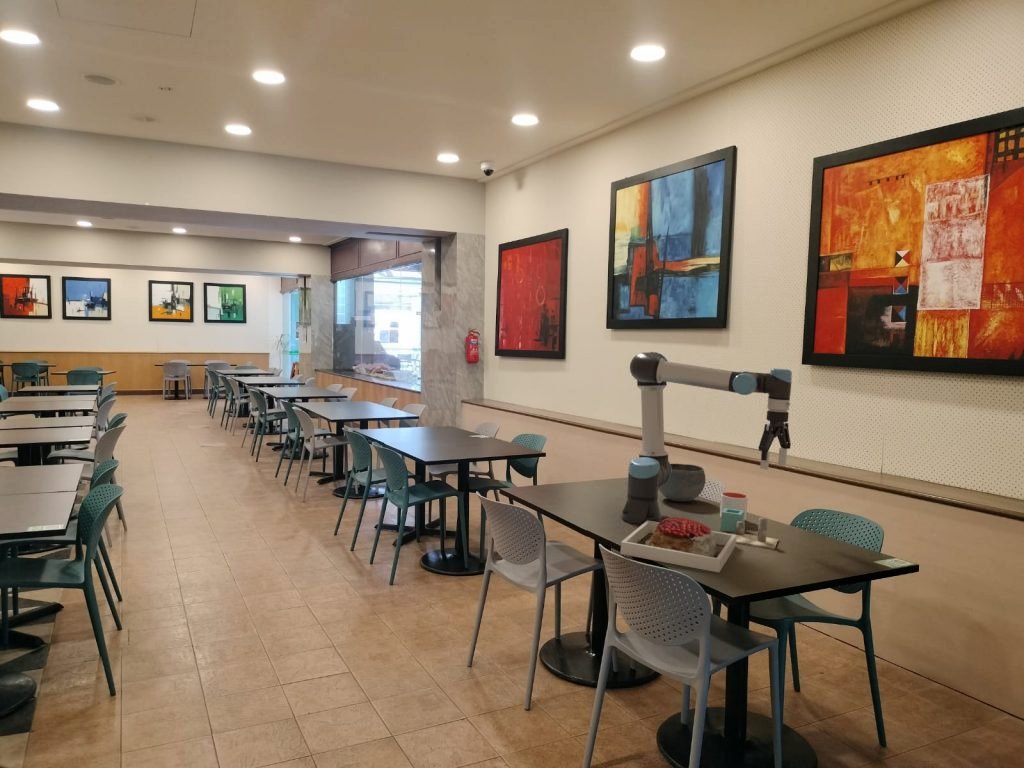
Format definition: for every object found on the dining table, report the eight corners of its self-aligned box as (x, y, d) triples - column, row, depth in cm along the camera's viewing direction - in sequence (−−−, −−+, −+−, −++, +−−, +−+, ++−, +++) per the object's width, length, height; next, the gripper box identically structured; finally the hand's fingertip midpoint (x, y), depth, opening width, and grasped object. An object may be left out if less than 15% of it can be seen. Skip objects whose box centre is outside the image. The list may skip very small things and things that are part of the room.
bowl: (709, 499, 312) (712, 466, 311) (694, 509, 294) (697, 473, 293) (664, 492, 323) (666, 459, 322) (647, 500, 306) (649, 466, 304)
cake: (633, 540, 247) (635, 512, 246) (700, 540, 250) (702, 513, 249) (653, 562, 224) (655, 531, 223) (727, 562, 227) (729, 532, 226)
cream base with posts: (726, 541, 250) (728, 517, 249) (732, 533, 260) (733, 510, 260) (774, 549, 243) (776, 525, 242) (778, 540, 253) (780, 517, 253)
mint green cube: (720, 530, 264) (721, 511, 263) (723, 525, 270) (725, 508, 269) (739, 533, 261) (741, 514, 260) (742, 529, 267) (744, 510, 266)
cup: (747, 524, 274) (749, 499, 273) (720, 522, 276) (722, 496, 275) (744, 518, 284) (746, 493, 283) (718, 515, 286) (720, 491, 285)
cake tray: (620, 553, 230) (621, 541, 230) (646, 531, 258) (647, 520, 258) (719, 572, 216) (720, 559, 216) (735, 546, 244) (736, 535, 244)
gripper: (771, 413, 249) (766, 472, 251) (803, 410, 266) (798, 465, 268) (751, 410, 255) (746, 468, 257) (784, 408, 272) (779, 462, 274)
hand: (773, 467), depth 262 cm, fingers open, 13 cm apart
